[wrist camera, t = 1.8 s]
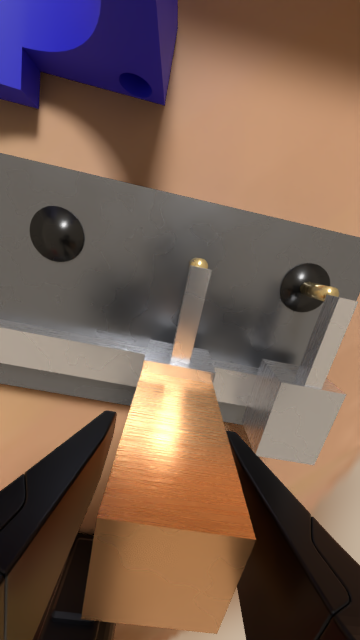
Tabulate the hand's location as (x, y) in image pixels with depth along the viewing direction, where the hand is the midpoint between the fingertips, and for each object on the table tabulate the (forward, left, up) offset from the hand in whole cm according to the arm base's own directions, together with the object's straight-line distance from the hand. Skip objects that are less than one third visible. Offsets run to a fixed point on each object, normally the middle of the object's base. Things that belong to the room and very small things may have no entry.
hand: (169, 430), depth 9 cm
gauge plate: (+3, +2, -6) cm, 7 cm away
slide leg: (+2, 0, -5) cm, 5 cm away
